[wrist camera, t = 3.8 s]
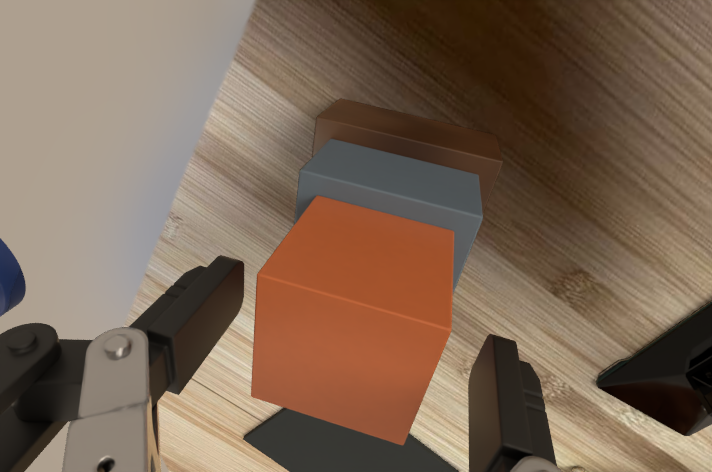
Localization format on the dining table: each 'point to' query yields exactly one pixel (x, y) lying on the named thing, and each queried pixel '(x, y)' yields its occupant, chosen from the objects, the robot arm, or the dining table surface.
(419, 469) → the mat
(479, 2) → the dining table surface
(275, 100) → the dining table surface
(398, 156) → the middle block
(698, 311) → the build plate
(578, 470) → the bull figurine
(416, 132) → the base block
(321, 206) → the top block
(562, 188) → the dining table surface
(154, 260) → the dining table surface
